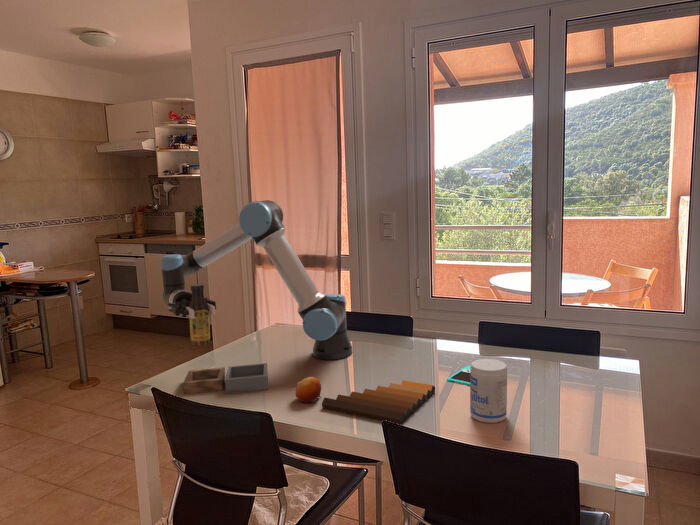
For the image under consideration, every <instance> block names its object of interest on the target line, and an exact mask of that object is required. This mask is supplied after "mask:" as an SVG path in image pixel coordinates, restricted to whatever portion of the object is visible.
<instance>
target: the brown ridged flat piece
mask: <svg viewBox="0 0 700 525" xmlns="http://www.w3.org/2000/svg"><path fill="white" fill-rule="evenodd" d="M435 392H436V386H434V384H428V383H421V382H416V381H410V380H408V381H407V380H404V379H403V380H401V384H398V383H392V382H390V383H389V385H388V387H387V386H381V385H377V386H376V389H375V390H374V389H370V388H364V390H363V392H358V391H351V392H350V395H349V396H348V395H343V394H337V397H336V398H330V397H324V398H323V400H322V403H321V407H322V409H324V410H328V411H333V412H336V413H337V412H339V413H343V414H346V415H347V414H348V415H353V416H357V417H362V418H367V419H370V420H371V419H372V420H376V421H381V422H383V421H382V420H387V421H391V422H394V423H393V424H395V423H398V424H397V425H400V424H401V425H402V424H404V423H405V422H406V420H408V419H409V418H410V417H411V415H413V414H414V413H416V411H417V410H419V408H420V407H421V406H422V405H424V403H426V401H428V400H429V399H430V397H431V396H433V395H434V394H435Z"/></svg>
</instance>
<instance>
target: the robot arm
mask: <svg viewBox="0 0 700 525" xmlns="http://www.w3.org/2000/svg"><path fill="white" fill-rule="evenodd" d="M283 221H284V211H283V209H282V208H281V205H279V204H278V203H277V202H275V201H272V200H269V199H268V200H259V201H258V200H255V201H252V202H250V203H247V204H246V205H244V206H243V207H242V208H241V210H240V213H239V217H238V223H237V224H235V225H234V226H232V227H230V228H228V229H227V230H226V231H223V232H222V233H220V234H218V235H217V236H216V237H214V238H212V239H211V240H209V241H207V242H206V243H204V244H203V245H201V246H200V247H198V248H196V249H195V250H193V251H191V252H190V253H188V254H186V255H184V256H182V255H181V254H175V253H174V254H167V255H163V256H162V257H161V258H160V261H161V262H160V268H161V274H162V275H161V277H162V283H163V286H162V288H163V290H162V293H161V299H162V301H163V302H164V304H166V305H167V307H168V308H167V309H168V312H171V313H172V314H174V315H175V316H176V317H178V316H181V317H182V318H187V317H188V318H189V317H190V318H192V319H194V318H195V315H194V310H193V309H191V308H189V304H190V302H191V300H192V292H189V291H187V290H186V281H185V278H187V277H188V276H191V275H192V276H193V275H195V274H198V273H199V272H200V271H201V270H202V269H203V268H205V267H207V266H209V265H210V264H212V263H214V262H215V261H217V260H219V259H221V258H222V257H224V256H225V255H228V254H229V253H231V252H232V251H234V250H236V249H238V248H239V247H240V246H242V245H244V244H245V243H248V242H249V241H251V240H253V242H254V243H255V245H256V246H258V247H261V248H263V249H264V251H265V253H266V254H267V255H268V258H269V260H270V261H271V262H272V264H273V266H274V268H275V269H276V270H277V273H278V274H279V276H280V278H281V279H282V280H283V282H284V283H285V285H286V287H287V288H288V290H289V292H290V294H291V295H292V297H293V298H294V300H295V302H296V303H297V306H298V307H297V313H298V315H299V316H300V318H301V320H302V329H303V331H304V333H305V335H307V337H309V338H311V339H312V340H314V343H313V348H312V356H313V357H314V358H316V359H319V360H326V361H327V360H331V361H332V360H340V359H345V358H348V357H350V356H351V355H352V354H353V345H352V343H351V340H350V337H349V334H348V332H347V330H348V328H347V327H348V326H347V325H348V324H347V311H346V310H347V307H346V304H347V302H346V297H345V295H344V294H340V293H339V294H338V293H333V294H332V293H330V294H329V293H324V292H323V293H322V292H320V291H319V290H318V287H317V286H316V284H315V283H314V282H313V281H314V280H312V278H311V276H310V274H309V273H308V271H307V270H306V268H305V267H304V264H303V263H302V262H301V260H300V258H299V256H298V255H297V254H296V252H295V250H294V249H293V247H292V245H291V244H290V242H289V240H288V238H287V236H286V235H285V231H286V226H285V225H284V224H283ZM204 299H205V300H206V302H207V303H208V311H209V315H212V316H215V315H216V310H217V304H216V301H214V300H212V299H209V298H208V297H204Z"/></svg>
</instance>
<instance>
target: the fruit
mask: <svg viewBox="0 0 700 525" xmlns="http://www.w3.org/2000/svg"><path fill="white" fill-rule="evenodd" d="M321 391H322V383H321V381H320V380H319V379H318V378H316V377H315V376H307V377H305V378H303V379H301V381H298V382H297V383H296V386H295V397H296V399H297V400H298V401H300V402H301V403H304V404H305V403H306V404H308V403H311V402H312V403H313V402H314V403H317V400H318V398H322V396H321V393H322V392H321Z"/></svg>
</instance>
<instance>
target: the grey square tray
mask: <svg viewBox="0 0 700 525" xmlns="http://www.w3.org/2000/svg"><path fill="white" fill-rule="evenodd" d="M226 370H227V371H226V373H225V376H226V377H225V381H224V384H225V394H236V393H245V392H247V393H248V392H257V391H265V390H266V391H267V390H268V387H269V385H268V384H269V382H268V380H269V374H268V373H269V372H268V362H265V363H263V362H262V363H254V364H253V363H252V364H241V365H229V366H227V369H226Z"/></svg>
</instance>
